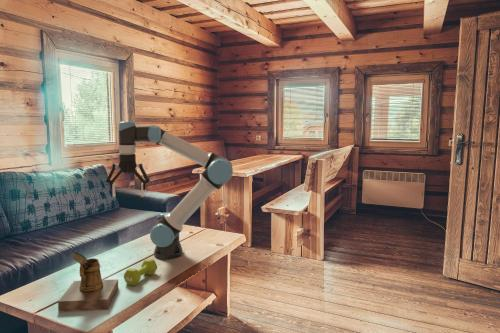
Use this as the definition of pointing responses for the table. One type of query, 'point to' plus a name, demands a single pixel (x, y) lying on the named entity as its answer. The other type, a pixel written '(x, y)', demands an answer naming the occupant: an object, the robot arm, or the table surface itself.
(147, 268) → the dumbbell
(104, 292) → the walnut stand
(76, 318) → the table surface
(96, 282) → the wooden mug
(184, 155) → the robot arm
